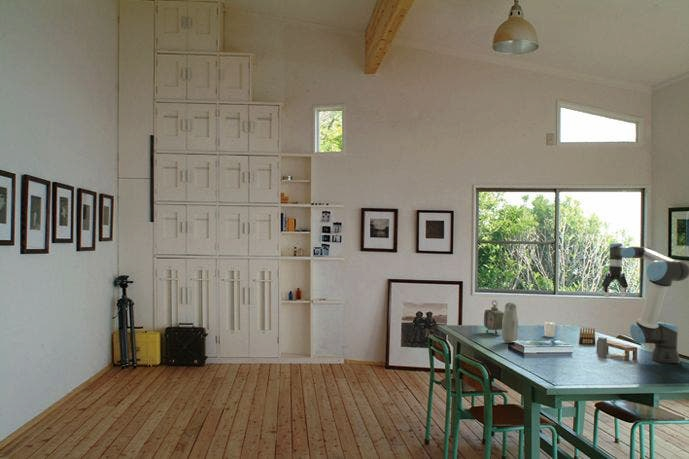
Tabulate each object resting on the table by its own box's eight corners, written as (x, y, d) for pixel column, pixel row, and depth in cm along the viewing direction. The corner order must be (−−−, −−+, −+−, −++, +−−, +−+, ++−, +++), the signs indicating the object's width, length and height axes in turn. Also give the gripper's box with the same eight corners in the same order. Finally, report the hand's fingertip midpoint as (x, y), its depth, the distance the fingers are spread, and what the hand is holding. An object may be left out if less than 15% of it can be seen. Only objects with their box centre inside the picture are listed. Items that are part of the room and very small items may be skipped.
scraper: (603, 358, 318) (604, 338, 319) (596, 355, 324) (596, 336, 324) (626, 357, 324) (627, 337, 324) (618, 354, 330) (619, 336, 330)
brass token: (631, 357, 326) (631, 355, 326) (625, 357, 325) (625, 355, 325) (625, 355, 330) (625, 353, 330) (620, 355, 329) (620, 353, 329)
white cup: (552, 335, 391) (552, 322, 391) (557, 337, 383) (557, 323, 383) (542, 335, 391) (542, 321, 391) (546, 337, 383) (546, 323, 383)
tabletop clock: (483, 332, 395) (484, 299, 395) (493, 331, 398) (494, 299, 398) (494, 335, 381) (495, 301, 381) (505, 335, 384) (506, 301, 384)
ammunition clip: (594, 344, 361) (594, 327, 361) (595, 345, 359) (596, 327, 359) (578, 343, 362) (579, 326, 362) (579, 344, 360) (580, 327, 360)
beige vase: (498, 342, 358) (500, 301, 358) (510, 341, 361) (512, 301, 362) (508, 345, 349) (509, 303, 349) (520, 344, 352) (521, 303, 352)
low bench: (637, 360, 315) (637, 347, 315) (626, 361, 313) (627, 347, 313) (606, 351, 338) (606, 339, 338) (596, 352, 335) (596, 339, 335)
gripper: (625, 265, 356) (624, 296, 356) (596, 265, 349) (595, 296, 349) (634, 266, 349) (633, 297, 349) (605, 266, 342) (604, 298, 341)
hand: (614, 297), depth 349 cm, fingers open, 13 cm apart
